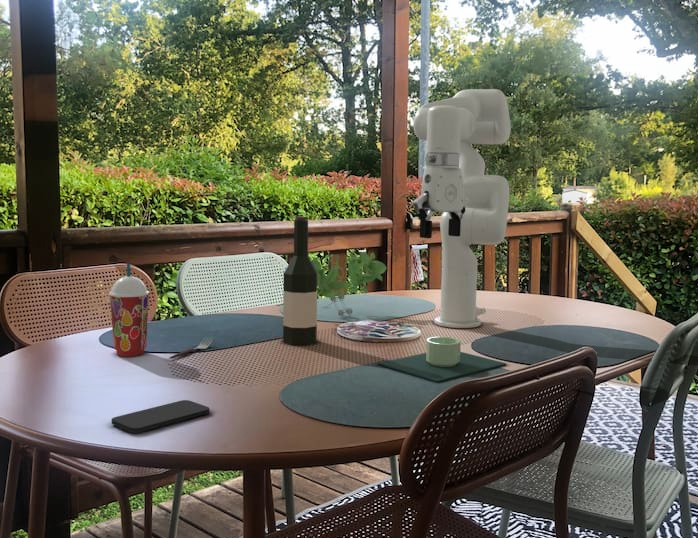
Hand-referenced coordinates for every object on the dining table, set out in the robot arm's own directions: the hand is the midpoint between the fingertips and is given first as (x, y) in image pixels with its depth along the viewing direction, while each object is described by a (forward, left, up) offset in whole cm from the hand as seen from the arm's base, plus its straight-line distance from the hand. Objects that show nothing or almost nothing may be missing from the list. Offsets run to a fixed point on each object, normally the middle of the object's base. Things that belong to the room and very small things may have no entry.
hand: (440, 236), depth 173 cm
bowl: (+10, +11, -26) cm, 30 cm away
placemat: (+10, +11, -26) cm, 30 cm away
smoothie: (+58, -38, -26) cm, 74 cm away
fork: (+47, -31, -26) cm, 62 cm away
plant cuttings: (-6, -46, -26) cm, 53 cm away
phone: (+73, +6, -26) cm, 78 cm away
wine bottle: (+21, -25, -26) cm, 42 cm away
